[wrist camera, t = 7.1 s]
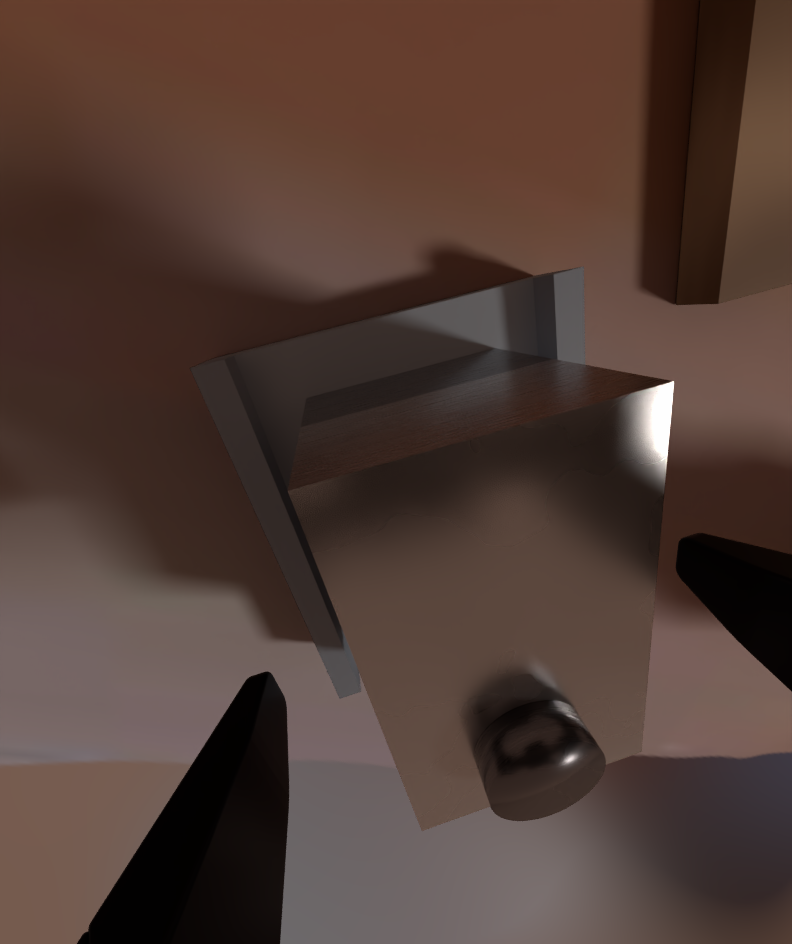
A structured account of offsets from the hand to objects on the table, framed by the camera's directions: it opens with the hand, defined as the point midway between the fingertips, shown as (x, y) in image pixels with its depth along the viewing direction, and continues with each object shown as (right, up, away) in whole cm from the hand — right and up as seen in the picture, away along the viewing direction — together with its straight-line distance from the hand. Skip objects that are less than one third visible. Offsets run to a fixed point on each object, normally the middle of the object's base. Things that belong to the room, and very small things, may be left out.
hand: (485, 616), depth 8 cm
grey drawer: (-1, +2, +4) cm, 5 cm away
